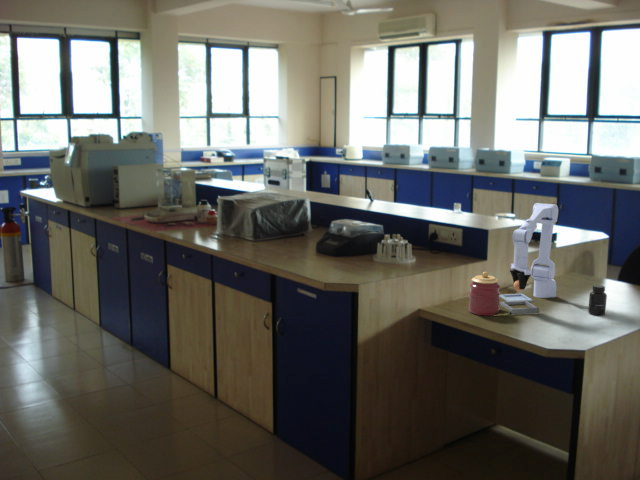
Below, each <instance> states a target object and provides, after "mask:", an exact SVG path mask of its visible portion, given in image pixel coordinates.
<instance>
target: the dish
mask: <svg viewBox="0 0 640 480" xmlns="http://www.w3.org/2000/svg"><path fill="white" fill-rule="evenodd" d="M500 298H501V299H503V300H505V302H508V301H527V302H529V303H530V302H531V303H532V302H533V301H534V300H533V299H532V298H530V297H528V296H527V295H525V294H524V293H508V294H507V293H505V294H500Z"/></svg>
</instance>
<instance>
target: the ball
mask: <svg viewBox="0 0 640 480" xmlns="http://www.w3.org/2000/svg"><path fill="white" fill-rule="evenodd" d="M513 289H514V290H515V291H516V292H523V291H524V290H525V289H520V288H519V280H517V281H515V283H513Z"/></svg>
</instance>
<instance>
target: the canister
mask: <svg viewBox="0 0 640 480" xmlns="http://www.w3.org/2000/svg"><path fill="white" fill-rule="evenodd" d="M499 282H500V281H499V279H498V278H497V277H495V276H493V275H489V273H488V272H487V271H483V272H482V274H478V275H475V276H474V277H472V278H471V282H470V283H469V287H470V290H469V291H468V294H469V297H468V300H469V303H468V311H469V312H470V313H471V314H473V315H476V316H477V315H478V316H495V315H497V314H499V311H500V298H501V297H500V295H501V293H500V288H501V285H500V284H499Z"/></svg>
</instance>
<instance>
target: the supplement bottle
mask: <svg viewBox="0 0 640 480" xmlns="http://www.w3.org/2000/svg"><path fill="white" fill-rule="evenodd" d="M605 291H606V287H605V286H604V285H601V284H600V285H599V284H594V285H592V291H591V292H590V293H589V295H588V296H589V297H588V298H589V299H588V306H587V308H588V309H587V312H588V314H590V315H593V316H605V314H606V309H607V298H608V296H607V293H606V292H605Z"/></svg>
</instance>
